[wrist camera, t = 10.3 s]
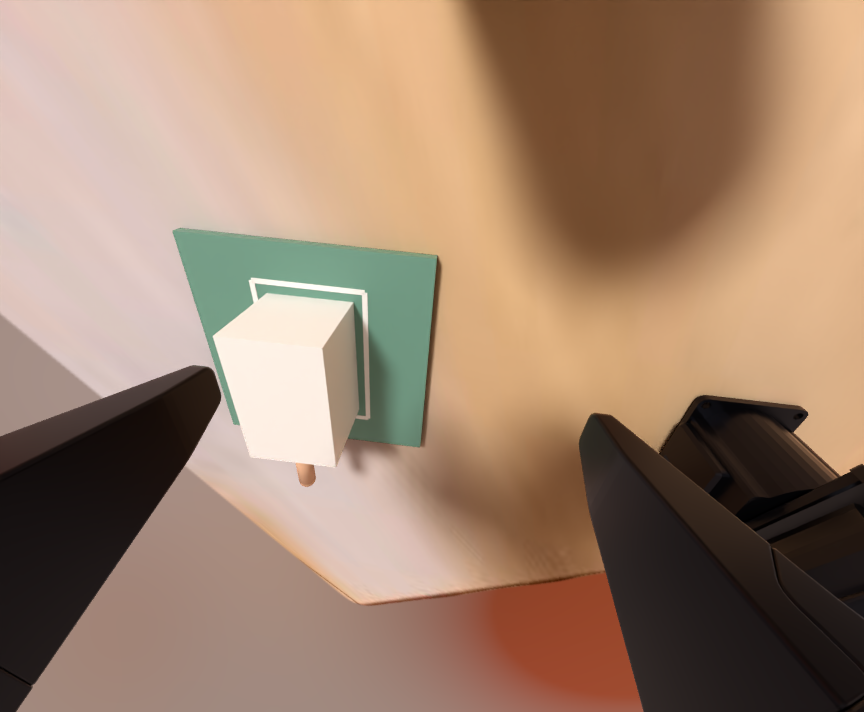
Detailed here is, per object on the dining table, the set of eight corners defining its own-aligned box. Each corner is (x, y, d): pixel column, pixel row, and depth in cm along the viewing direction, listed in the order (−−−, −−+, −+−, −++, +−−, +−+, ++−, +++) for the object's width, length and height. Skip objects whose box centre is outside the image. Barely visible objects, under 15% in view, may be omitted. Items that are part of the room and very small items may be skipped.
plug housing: (353, 302, 20) (322, 348, 15) (361, 444, 26) (340, 504, 22) (266, 293, 20) (212, 336, 16) (295, 436, 26) (262, 494, 22)
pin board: (437, 255, 18) (432, 273, 16) (420, 441, 26) (416, 471, 24) (180, 228, 19) (139, 241, 16) (238, 418, 26) (215, 446, 24)
